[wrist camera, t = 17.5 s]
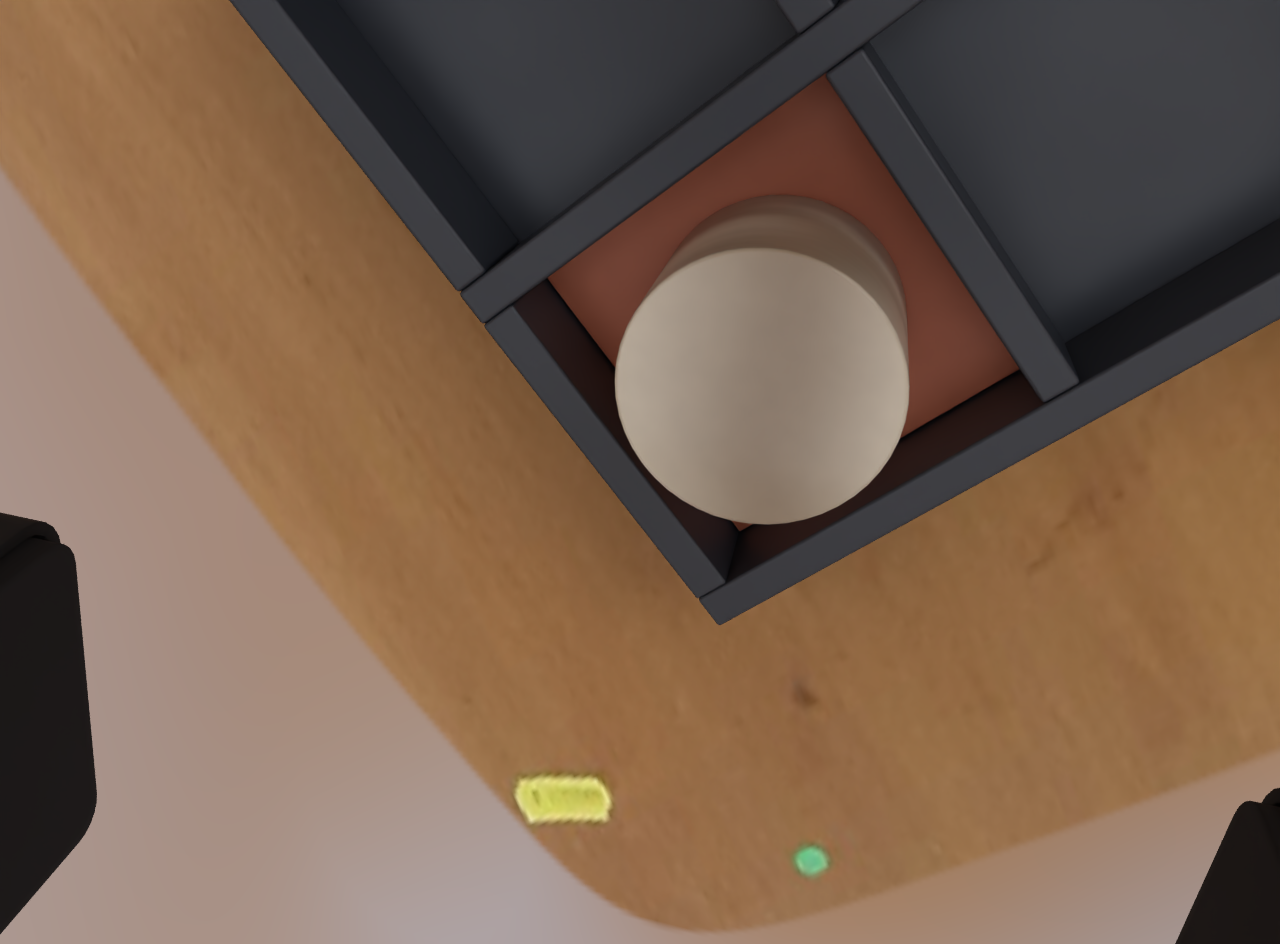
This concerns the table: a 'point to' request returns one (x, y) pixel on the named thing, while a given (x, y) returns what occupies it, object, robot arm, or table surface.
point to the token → (768, 362)
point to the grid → (828, 201)
